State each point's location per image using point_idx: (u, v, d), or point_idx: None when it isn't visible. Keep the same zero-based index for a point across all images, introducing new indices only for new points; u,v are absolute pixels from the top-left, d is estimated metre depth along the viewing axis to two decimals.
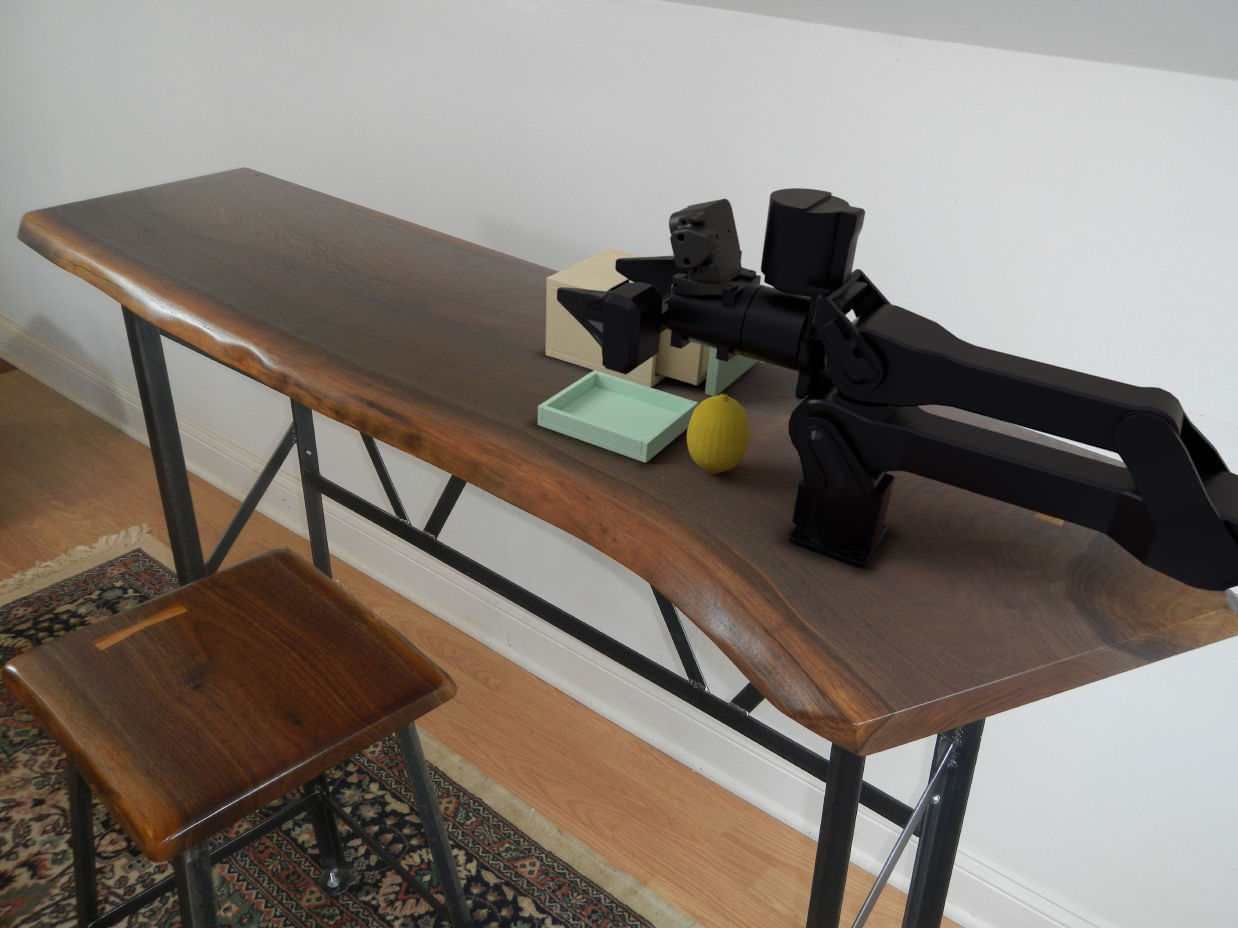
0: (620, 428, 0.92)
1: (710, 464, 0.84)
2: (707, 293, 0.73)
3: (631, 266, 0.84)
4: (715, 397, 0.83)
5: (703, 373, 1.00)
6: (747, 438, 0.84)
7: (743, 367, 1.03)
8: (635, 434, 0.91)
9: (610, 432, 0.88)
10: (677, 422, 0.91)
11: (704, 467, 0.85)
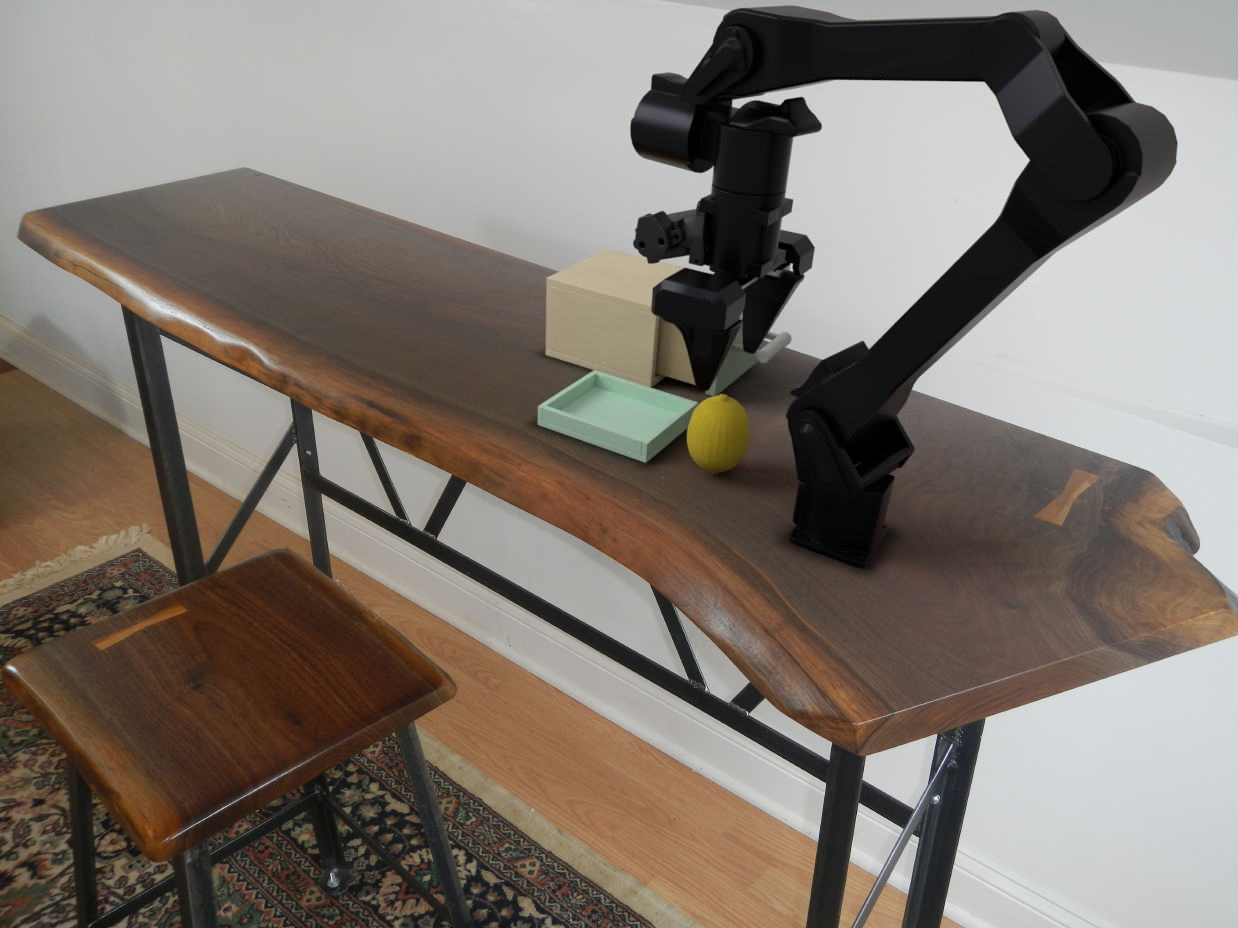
0: (620, 428, 0.92)
1: (710, 464, 0.84)
2: (701, 228, 0.74)
3: (748, 335, 0.84)
4: (715, 397, 0.83)
5: None
6: (747, 438, 0.84)
7: (743, 367, 1.03)
8: (635, 434, 0.91)
9: (610, 432, 0.88)
10: (677, 422, 0.91)
11: (704, 467, 0.85)
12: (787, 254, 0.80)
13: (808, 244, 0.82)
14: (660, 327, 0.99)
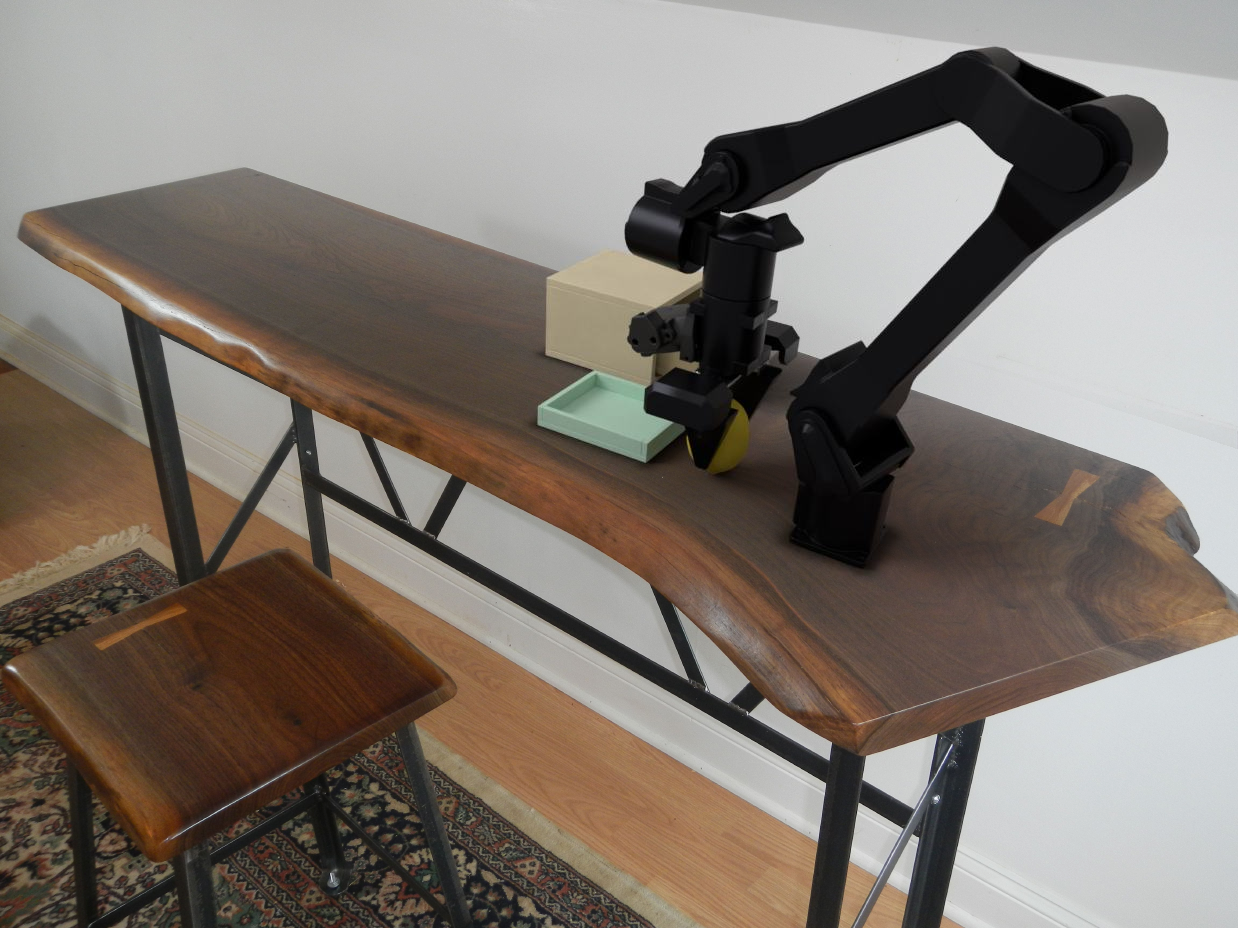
0: (620, 428, 0.92)
1: (710, 464, 0.84)
2: (691, 328, 0.79)
3: None
4: None
5: None
6: (747, 438, 0.84)
7: None
8: (635, 434, 0.91)
9: (610, 432, 0.88)
10: None
11: None
12: (773, 346, 0.84)
13: (793, 335, 0.86)
14: None
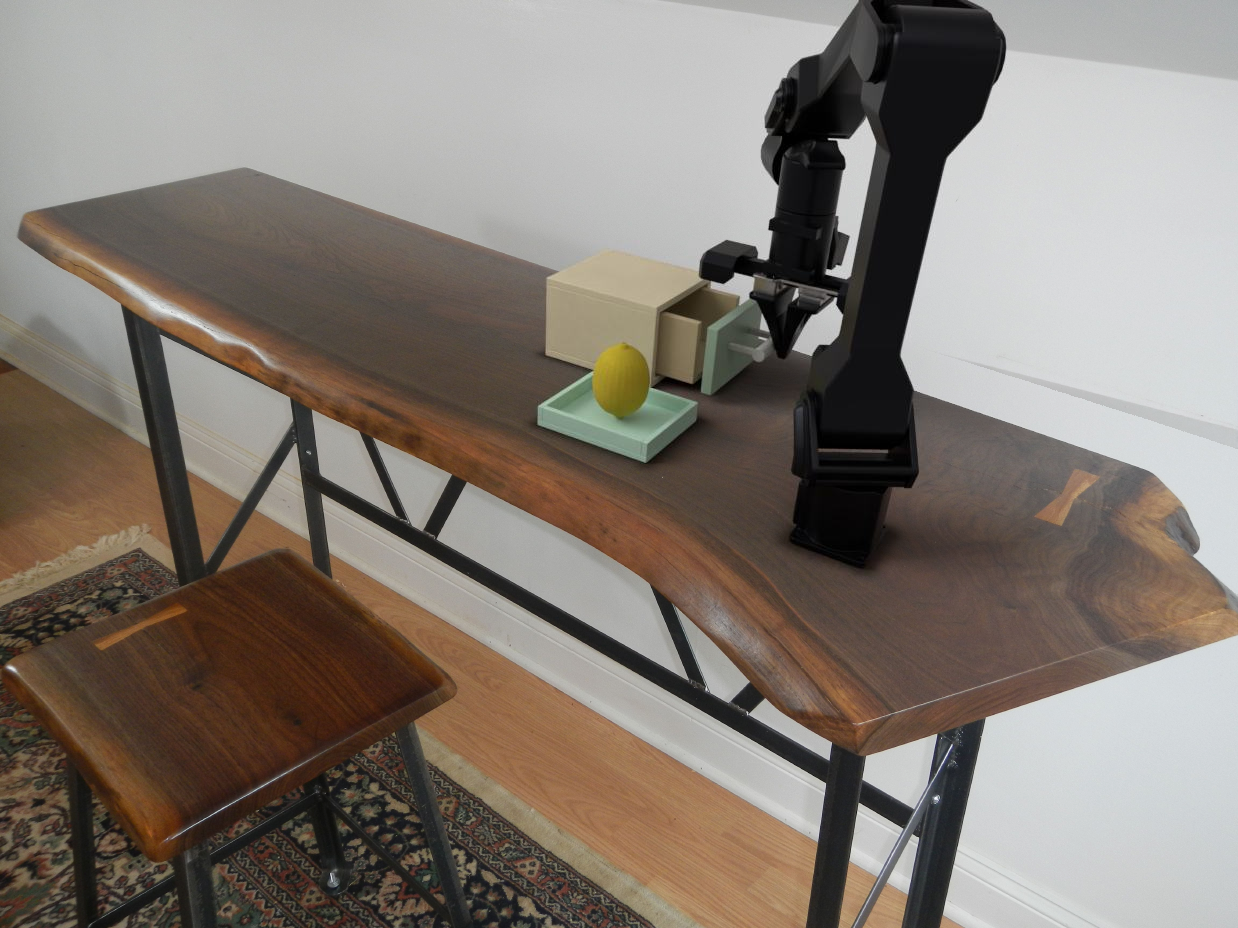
0: (620, 428, 0.92)
1: (612, 407, 0.91)
2: None
3: None
4: (616, 345, 0.90)
5: (699, 372, 1.01)
6: (646, 383, 0.90)
7: (739, 366, 1.03)
8: (635, 434, 0.91)
9: (610, 432, 0.88)
10: (677, 422, 0.91)
11: (608, 411, 0.92)
12: None
13: None
14: None
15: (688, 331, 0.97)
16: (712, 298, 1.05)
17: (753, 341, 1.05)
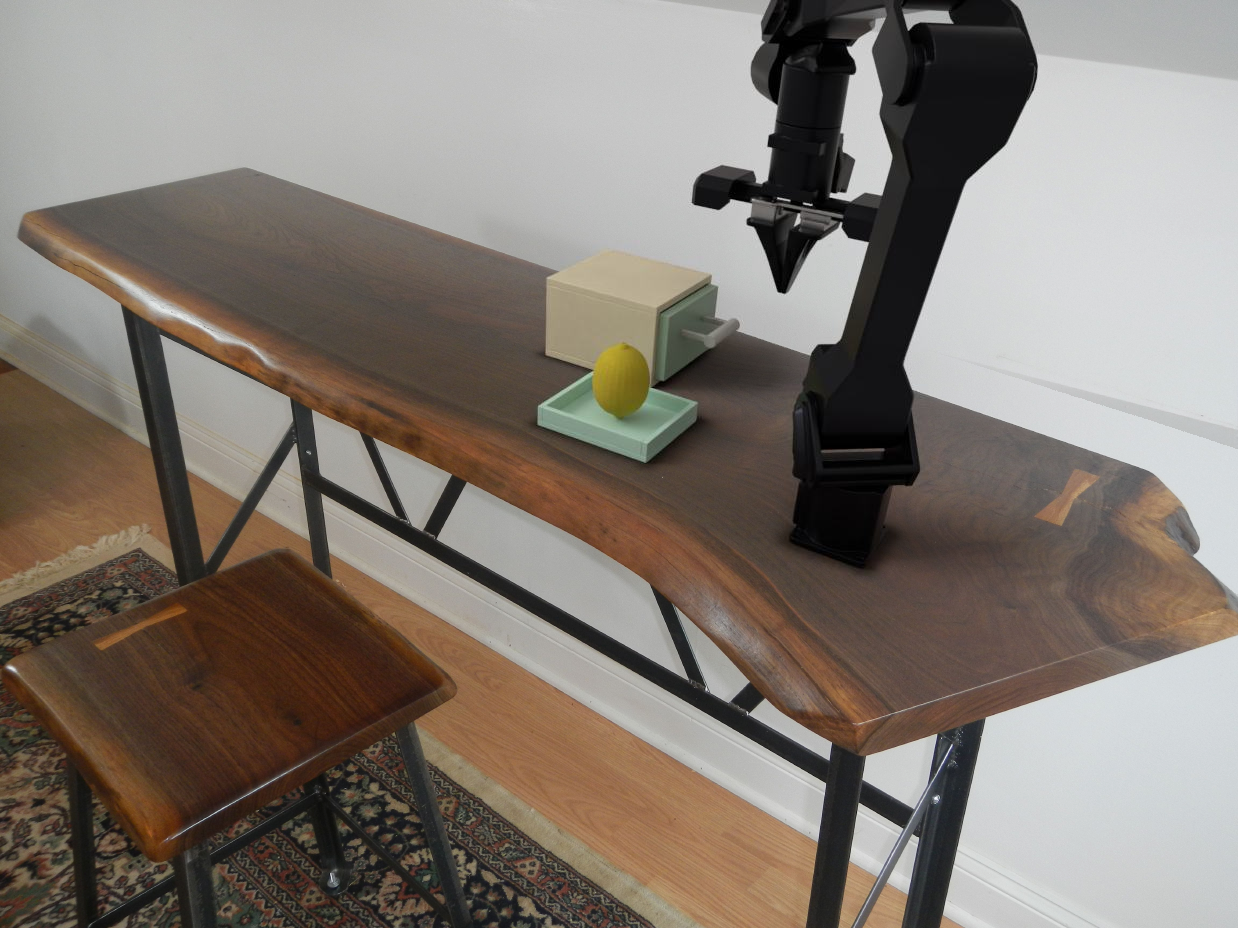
0: (620, 428, 0.92)
1: (612, 407, 0.91)
2: None
3: None
4: (616, 345, 0.90)
5: None
6: (646, 383, 0.90)
7: (694, 353, 1.05)
8: (635, 434, 0.91)
9: (610, 432, 0.88)
10: (677, 422, 0.91)
11: (608, 411, 0.92)
12: None
13: (875, 216, 0.81)
14: None
15: None
16: None
17: (708, 329, 1.07)
